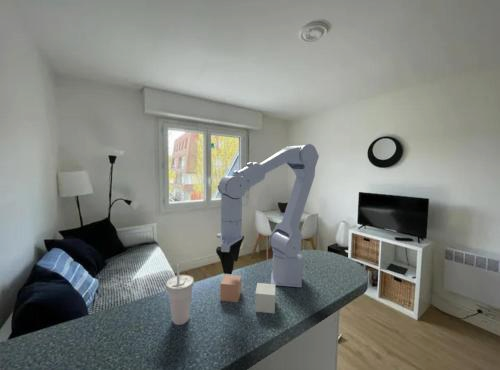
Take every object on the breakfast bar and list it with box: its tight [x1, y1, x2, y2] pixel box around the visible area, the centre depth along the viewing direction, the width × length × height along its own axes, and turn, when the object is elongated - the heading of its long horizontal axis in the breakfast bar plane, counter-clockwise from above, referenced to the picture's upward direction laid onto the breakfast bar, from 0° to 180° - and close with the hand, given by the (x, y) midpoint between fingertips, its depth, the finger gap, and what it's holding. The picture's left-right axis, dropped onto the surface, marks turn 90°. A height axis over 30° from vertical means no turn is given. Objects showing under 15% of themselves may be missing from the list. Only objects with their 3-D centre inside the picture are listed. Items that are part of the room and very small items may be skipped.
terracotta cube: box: [219, 274, 242, 303], centre depth 63 cm, size 5×5×5 cm
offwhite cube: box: [254, 282, 276, 315], centre depth 58 cm, size 5×5×5 cm
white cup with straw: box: [165, 263, 195, 326], centre depth 53 cm, size 6×6×14 cm
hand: (231, 266), depth 62 cm, fingers open, 7 cm apart
